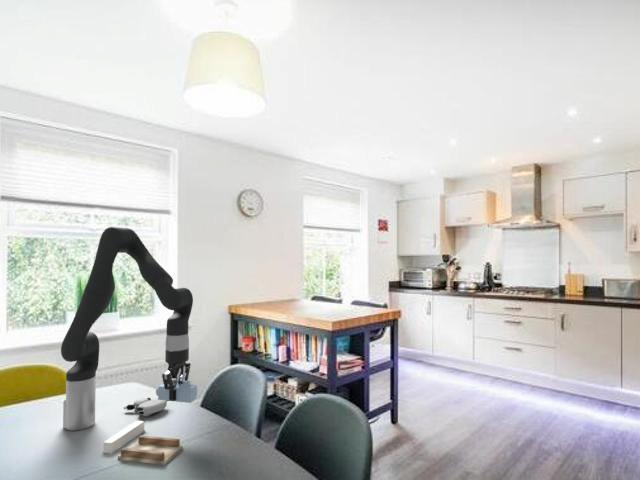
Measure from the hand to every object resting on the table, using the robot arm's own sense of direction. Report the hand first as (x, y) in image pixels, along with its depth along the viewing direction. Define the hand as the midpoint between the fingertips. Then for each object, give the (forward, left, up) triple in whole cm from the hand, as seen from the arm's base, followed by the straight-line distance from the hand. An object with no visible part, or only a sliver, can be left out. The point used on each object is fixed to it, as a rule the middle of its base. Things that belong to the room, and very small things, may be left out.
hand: (176, 397), depth 132 cm
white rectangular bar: (-16, -5, -14) cm, 22 cm away
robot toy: (-24, +18, -14) cm, 33 cm away
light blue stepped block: (0, 0, 0) cm, 1 cm away
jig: (-2, -11, -13) cm, 17 cm away
